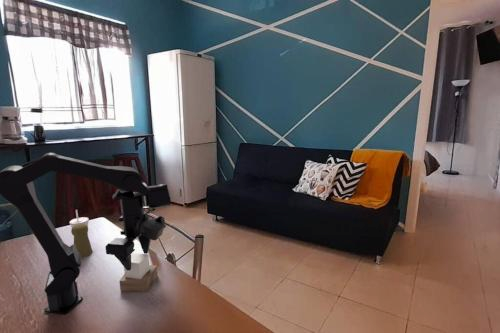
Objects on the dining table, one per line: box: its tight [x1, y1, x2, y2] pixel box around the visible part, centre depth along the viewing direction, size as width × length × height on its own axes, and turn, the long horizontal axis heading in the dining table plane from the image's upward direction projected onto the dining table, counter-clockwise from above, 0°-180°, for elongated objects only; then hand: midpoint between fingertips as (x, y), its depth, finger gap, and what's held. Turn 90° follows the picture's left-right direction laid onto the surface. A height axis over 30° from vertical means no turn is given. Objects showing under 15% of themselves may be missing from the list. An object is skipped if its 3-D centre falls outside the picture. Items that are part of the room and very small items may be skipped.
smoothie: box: [69, 209, 90, 236], centre depth 109 cm, size 6×6×14 cm
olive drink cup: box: [70, 224, 94, 259], centre depth 102 cm, size 6×6×11 cm
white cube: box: [123, 252, 150, 279], centre depth 84 cm, size 5×5×5 cm
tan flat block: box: [118, 264, 158, 293], centre depth 85 cm, size 8×8×4 cm
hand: (137, 261), depth 84 cm, fingers open, 9 cm apart
